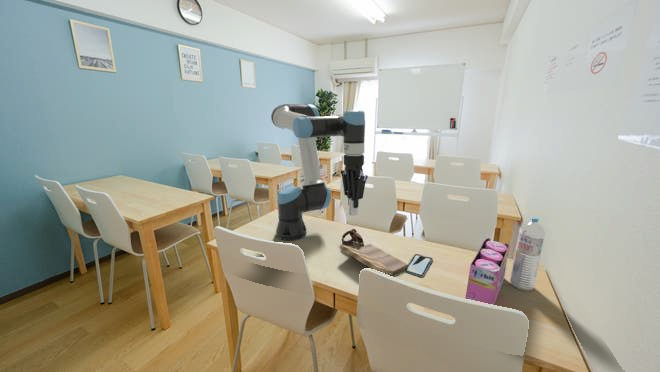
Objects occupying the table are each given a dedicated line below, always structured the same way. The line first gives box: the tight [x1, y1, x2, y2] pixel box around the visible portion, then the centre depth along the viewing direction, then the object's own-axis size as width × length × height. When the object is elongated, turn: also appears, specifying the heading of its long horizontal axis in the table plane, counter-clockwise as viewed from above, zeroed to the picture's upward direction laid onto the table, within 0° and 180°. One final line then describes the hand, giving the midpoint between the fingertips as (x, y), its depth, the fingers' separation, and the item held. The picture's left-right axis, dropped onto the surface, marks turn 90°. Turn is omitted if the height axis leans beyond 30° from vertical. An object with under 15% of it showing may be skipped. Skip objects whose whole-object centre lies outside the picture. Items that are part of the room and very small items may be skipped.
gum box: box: [465, 238, 510, 306], centre depth 91 cm, size 24×8×14 cm, turn 140°
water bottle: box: [509, 217, 546, 292], centre depth 90 cm, size 7×7×25 cm
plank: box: [339, 244, 394, 276], centre depth 105 cm, size 21×10×2 cm, turn 36°
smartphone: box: [403, 253, 433, 278], centre depth 106 cm, size 7×1×15 cm
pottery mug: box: [341, 228, 365, 247], centre depth 123 cm, size 12×10×8 cm
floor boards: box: [356, 243, 409, 276], centre depth 111 cm, size 21×8×2 cm, turn 36°
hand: (353, 214), depth 105 cm, fingers closed
